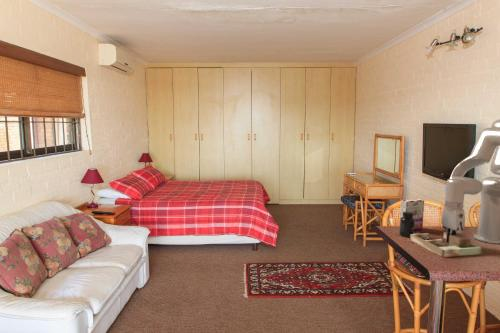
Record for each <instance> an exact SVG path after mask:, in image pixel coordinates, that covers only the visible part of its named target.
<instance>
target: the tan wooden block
mask: <svg viewBox="0 0 500 333" xmlns="http://www.w3.org/2000/svg"><path fill="white" fill-rule="evenodd" d="M470 243H472V238H470V237H467V236H464V235H462V234H456V235H449V243H448V246H457V247H459V248H470Z"/></svg>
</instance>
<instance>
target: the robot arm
mask: <svg viewBox="0 0 500 333" xmlns="http://www.w3.org/2000/svg"><path fill="white" fill-rule="evenodd" d="M490 162H491V163H490ZM489 163H490V167H489V170H490V172H491V174H495V175H497V177H496V176H486V177H484V178H483V179H482V180H478V178H477V179H476V178H471V177H468V176H465V175H466V174H467V172H468V171H470V170H472V169H473V168H476V167H480V166H484V165H486V164H489ZM498 176H500V119H496V120H495V121H493V122H492V123H491V127H486V128H483V129H481V131H480V132H479V134H478V136H477V139H476V142H475V143H474V146H473V148H472V150H471V152H470V154H469V155H468V156H467V157H465V158H464V159H462V160H461V161H460V162H459V163H458V164H457V165H456V166H455V167H454V169H453V170H452V172H451V174H450V177H449V178H448V179H447V180H446V184H445V185H446V187H445V195H444V196H445V198H444V206H443V209H442V213H441V221H440V223H441V225H442V228H443V229H444V230H445V232H446V234H447V239H445V240H446V241H445V243H448V244H449V235H462V231H465V227H466V226H465V224H466V216H465V209H464V207H465V206H464V201H465V200H464V198H465V195H471V196H472V195H473V196H474V195H478V194H479V193H480V208H479V216H478V228H477V233H474V234H473V238H474V239H476V240H478V241H480V242H483V243H489V244H497V245H498V244H500V177H498Z"/></svg>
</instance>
